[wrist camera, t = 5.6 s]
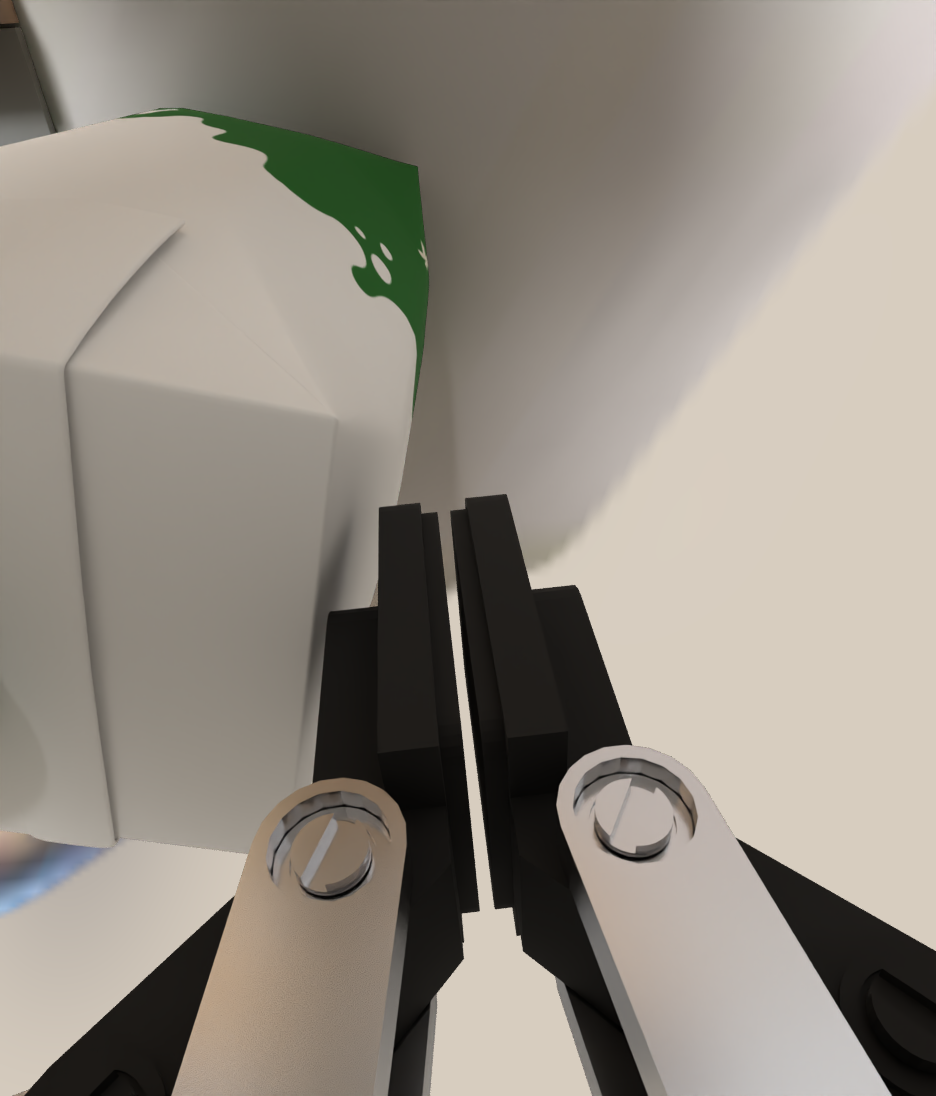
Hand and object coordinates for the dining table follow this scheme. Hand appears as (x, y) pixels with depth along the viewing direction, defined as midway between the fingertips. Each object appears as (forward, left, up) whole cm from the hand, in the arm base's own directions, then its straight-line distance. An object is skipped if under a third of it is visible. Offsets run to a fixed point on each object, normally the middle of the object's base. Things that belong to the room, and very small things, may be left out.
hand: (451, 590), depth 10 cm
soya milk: (0, -4, -17) cm, 17 cm away
